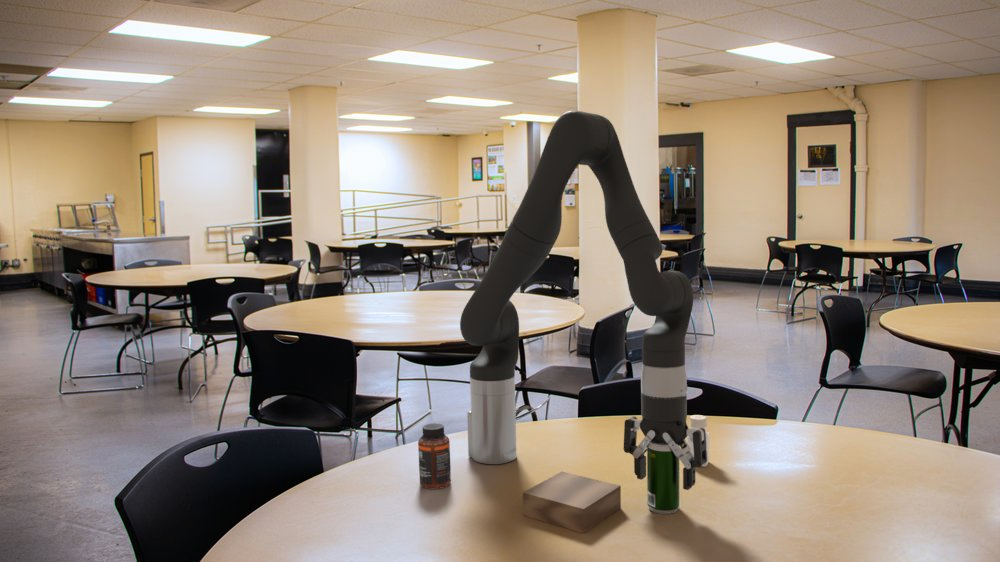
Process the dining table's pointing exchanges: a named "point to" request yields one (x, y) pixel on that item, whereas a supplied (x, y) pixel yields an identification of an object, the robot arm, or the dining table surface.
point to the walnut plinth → (572, 501)
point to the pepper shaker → (697, 423)
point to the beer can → (662, 478)
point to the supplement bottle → (434, 457)
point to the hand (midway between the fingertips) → (664, 483)
